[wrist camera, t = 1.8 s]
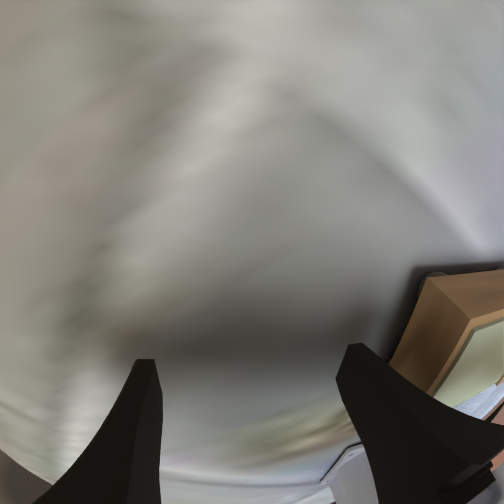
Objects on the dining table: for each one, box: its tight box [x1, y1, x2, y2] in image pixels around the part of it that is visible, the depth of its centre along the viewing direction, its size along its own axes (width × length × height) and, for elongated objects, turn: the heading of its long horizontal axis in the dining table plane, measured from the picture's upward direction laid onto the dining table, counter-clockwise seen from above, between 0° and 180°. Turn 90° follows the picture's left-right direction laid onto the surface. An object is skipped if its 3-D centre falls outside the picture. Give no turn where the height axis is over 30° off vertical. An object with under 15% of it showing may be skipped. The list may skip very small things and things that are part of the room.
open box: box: [387, 266, 504, 408], centre depth 12 cm, size 7×9×4 cm
